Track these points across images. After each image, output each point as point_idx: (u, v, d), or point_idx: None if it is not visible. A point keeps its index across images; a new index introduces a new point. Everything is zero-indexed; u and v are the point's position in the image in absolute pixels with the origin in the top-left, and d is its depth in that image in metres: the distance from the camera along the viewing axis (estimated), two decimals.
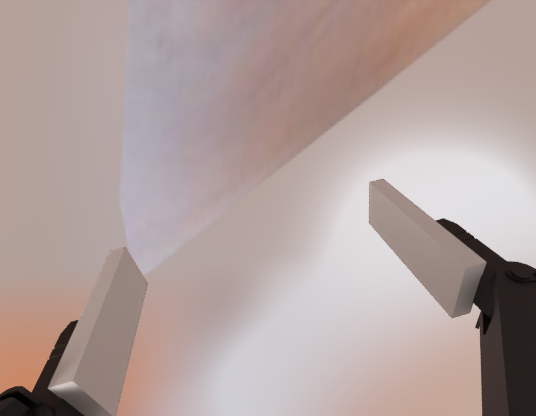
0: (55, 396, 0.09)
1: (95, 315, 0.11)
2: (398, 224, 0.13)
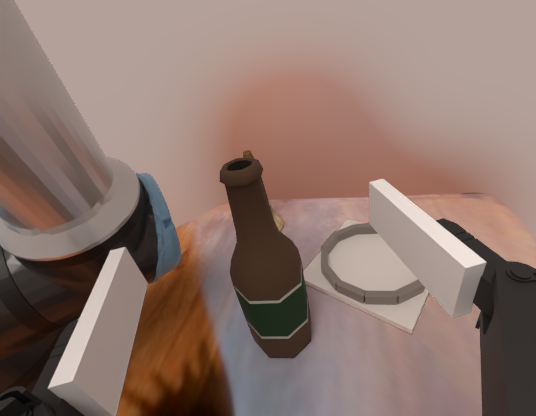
0: (55, 396, 0.09)
1: (95, 315, 0.11)
2: (398, 224, 0.13)
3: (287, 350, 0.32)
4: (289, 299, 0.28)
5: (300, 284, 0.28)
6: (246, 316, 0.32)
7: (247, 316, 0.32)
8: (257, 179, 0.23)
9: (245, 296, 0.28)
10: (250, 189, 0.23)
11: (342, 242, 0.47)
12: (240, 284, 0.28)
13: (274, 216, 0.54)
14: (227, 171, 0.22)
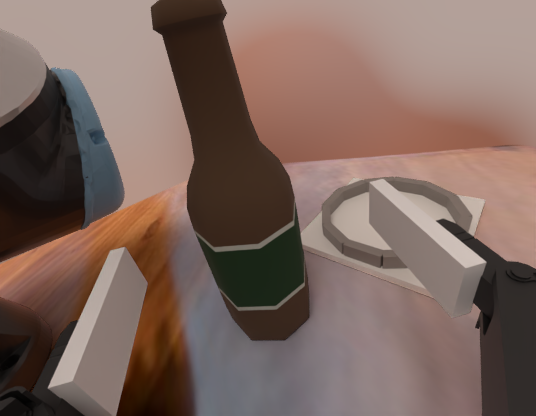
0: (55, 396, 0.09)
1: (95, 315, 0.11)
2: (398, 224, 0.13)
3: (276, 328, 0.22)
4: (276, 245, 0.18)
5: (292, 223, 0.19)
6: (217, 280, 0.22)
7: (217, 279, 0.22)
8: (214, 18, 0.13)
9: (208, 240, 0.18)
10: (202, 36, 0.13)
11: (348, 201, 0.37)
12: (200, 222, 0.18)
13: None
14: None
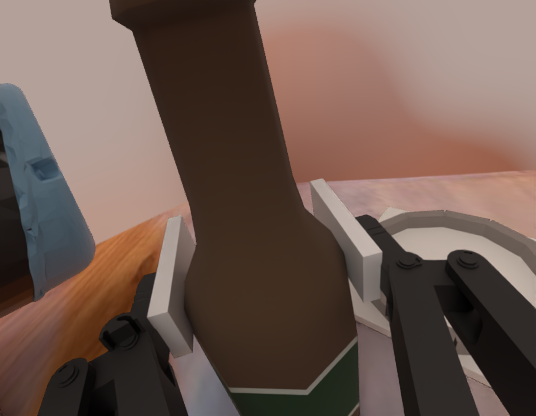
0: (149, 327, 0.10)
1: (171, 266, 0.12)
2: (328, 219, 0.14)
3: None
4: (330, 378, 0.11)
5: (355, 339, 0.12)
6: (229, 395, 0.15)
7: (230, 397, 0.15)
8: None
9: (219, 373, 0.11)
10: (216, 33, 0.06)
11: None
12: (205, 344, 0.11)
13: None
14: None
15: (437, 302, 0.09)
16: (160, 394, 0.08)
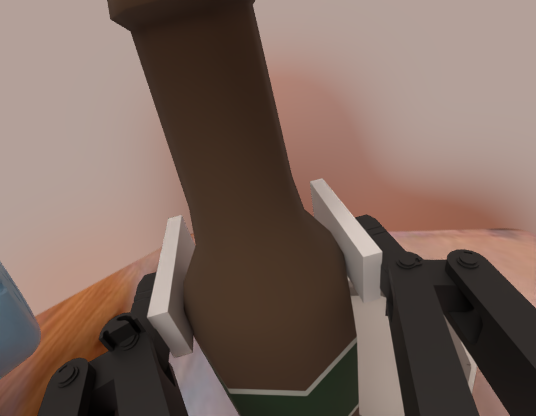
0: (149, 327, 0.10)
1: (171, 266, 0.12)
2: (328, 220, 0.14)
3: None
4: (330, 379, 0.11)
5: (355, 340, 0.12)
6: (228, 396, 0.15)
7: (230, 398, 0.15)
8: None
9: (219, 374, 0.11)
10: (215, 33, 0.06)
11: None
12: (204, 345, 0.11)
13: None
14: None
15: (437, 302, 0.09)
16: (160, 394, 0.08)
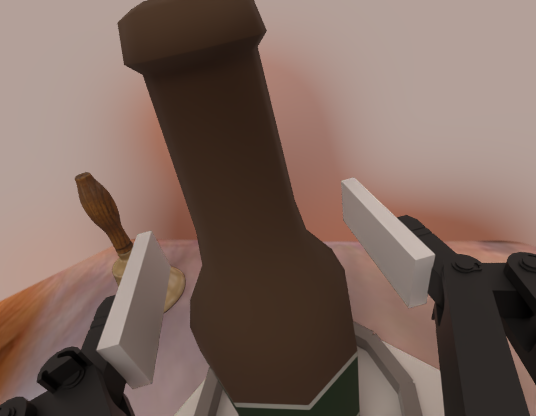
0: (101, 359, 0.10)
1: (131, 289, 0.11)
2: (365, 220, 0.13)
3: None
4: (331, 392, 0.12)
5: (355, 354, 0.12)
6: (233, 405, 0.16)
7: (234, 407, 0.15)
8: (247, 45, 0.07)
9: (225, 388, 0.11)
10: (223, 81, 0.07)
11: None
12: (211, 361, 0.11)
13: None
14: (136, 7, 0.06)
15: (496, 311, 0.08)
16: None
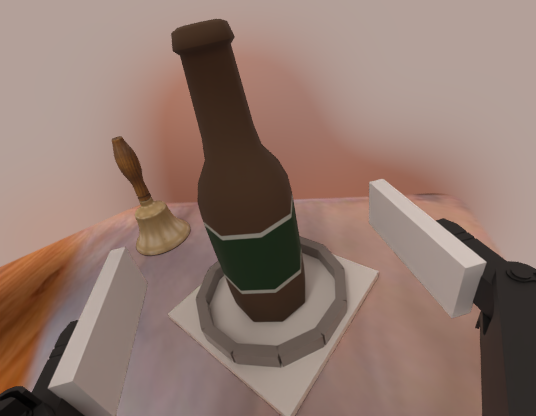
0: (55, 396, 0.09)
1: (95, 315, 0.11)
2: (398, 224, 0.13)
3: (275, 310, 0.25)
4: (275, 235, 0.21)
5: (290, 216, 0.22)
6: (222, 267, 0.25)
7: (223, 266, 0.25)
8: (224, 43, 0.16)
9: (216, 230, 0.21)
10: (214, 57, 0.16)
11: None
12: (209, 214, 0.21)
13: (172, 224, 0.41)
14: (180, 28, 0.16)
15: None
16: None
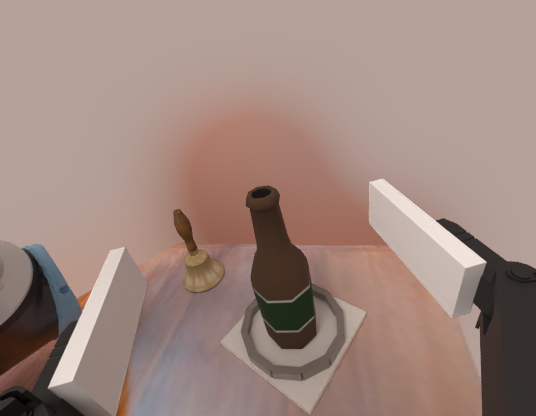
0: (55, 396, 0.09)
1: (95, 315, 0.11)
2: (398, 224, 0.13)
3: (297, 342, 0.38)
4: (300, 299, 0.34)
5: (308, 287, 0.35)
6: (262, 314, 0.38)
7: (263, 314, 0.38)
8: (276, 204, 0.29)
9: (263, 297, 0.34)
10: (270, 212, 0.29)
11: None
12: (259, 287, 0.34)
13: (212, 268, 0.54)
14: (252, 198, 0.29)
15: None
16: None
